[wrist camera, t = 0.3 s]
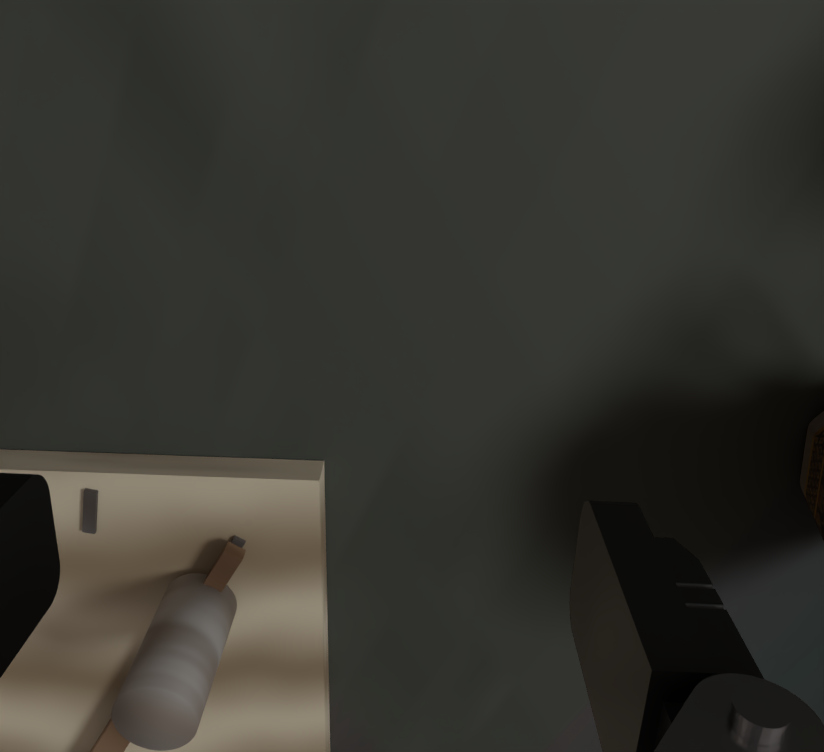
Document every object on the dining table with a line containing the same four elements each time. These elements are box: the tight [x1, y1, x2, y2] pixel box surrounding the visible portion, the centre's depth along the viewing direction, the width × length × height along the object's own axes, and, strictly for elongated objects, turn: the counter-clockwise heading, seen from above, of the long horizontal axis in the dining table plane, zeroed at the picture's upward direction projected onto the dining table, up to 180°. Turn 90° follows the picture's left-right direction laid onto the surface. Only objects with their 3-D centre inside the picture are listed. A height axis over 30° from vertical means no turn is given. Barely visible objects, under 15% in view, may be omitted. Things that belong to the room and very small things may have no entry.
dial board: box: [0, 449, 330, 752], centre depth 35 cm, size 20×24×2 cm
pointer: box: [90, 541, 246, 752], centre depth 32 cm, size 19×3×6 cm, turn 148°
